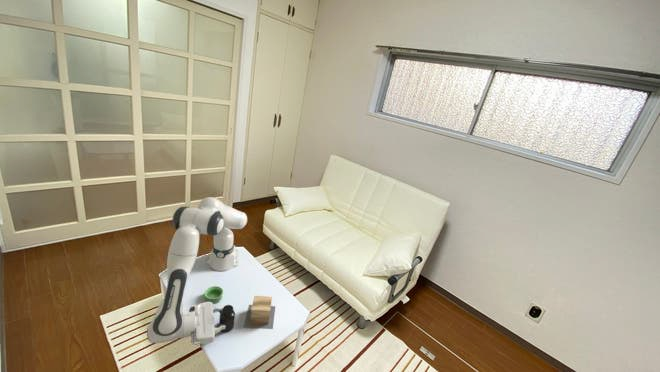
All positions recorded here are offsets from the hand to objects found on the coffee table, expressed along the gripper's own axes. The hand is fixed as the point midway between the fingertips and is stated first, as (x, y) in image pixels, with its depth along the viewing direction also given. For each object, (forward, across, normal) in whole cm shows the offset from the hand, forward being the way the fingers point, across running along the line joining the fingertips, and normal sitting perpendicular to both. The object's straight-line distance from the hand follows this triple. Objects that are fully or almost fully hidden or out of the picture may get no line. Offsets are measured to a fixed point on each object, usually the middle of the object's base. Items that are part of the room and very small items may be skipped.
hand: (224, 317), depth 125 cm
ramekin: (-3, +20, +7) cm, 21 cm away
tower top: (+18, +1, +2) cm, 18 cm away
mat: (+18, +1, +6) cm, 19 cm away
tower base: (+18, +1, +6) cm, 19 cm away
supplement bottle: (+1, 0, +7) cm, 7 cm away
